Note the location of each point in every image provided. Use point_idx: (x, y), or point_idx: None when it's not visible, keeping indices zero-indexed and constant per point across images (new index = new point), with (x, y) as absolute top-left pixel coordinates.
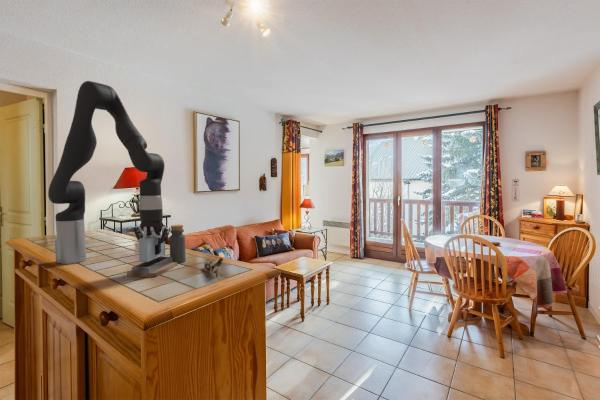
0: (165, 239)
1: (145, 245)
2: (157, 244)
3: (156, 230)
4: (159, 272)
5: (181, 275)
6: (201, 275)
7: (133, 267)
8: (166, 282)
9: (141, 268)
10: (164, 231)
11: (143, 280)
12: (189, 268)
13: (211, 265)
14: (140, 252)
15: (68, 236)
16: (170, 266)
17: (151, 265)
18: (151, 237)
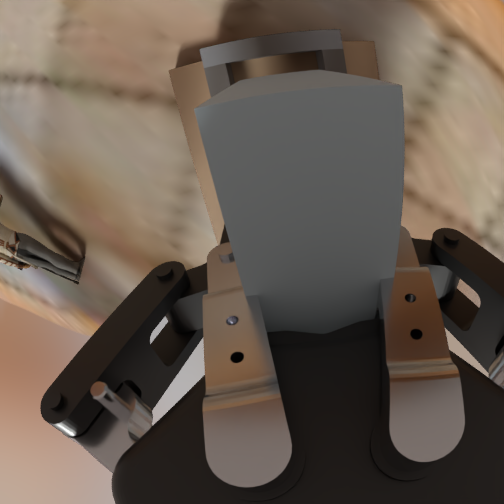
0: (169, 331)
1: (241, 88)
2: (217, 248)
3: (192, 413)
4: (178, 102)
5: (82, 143)
6: (27, 179)
7: (326, 31)
8: (69, 43)
9: (259, 37)
10: (74, 385)
11: (198, 3)
12: (135, 238)
13: (4, 230)
14: (315, 73)
15: None
16: (208, 211)
17: None
18: (269, 283)
